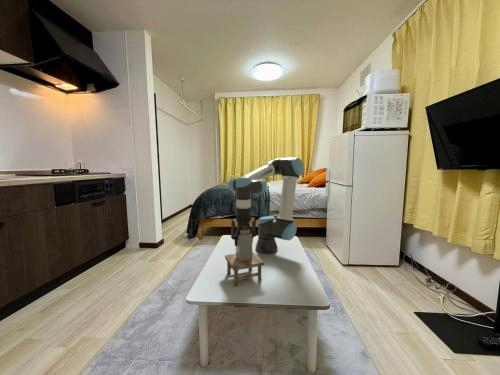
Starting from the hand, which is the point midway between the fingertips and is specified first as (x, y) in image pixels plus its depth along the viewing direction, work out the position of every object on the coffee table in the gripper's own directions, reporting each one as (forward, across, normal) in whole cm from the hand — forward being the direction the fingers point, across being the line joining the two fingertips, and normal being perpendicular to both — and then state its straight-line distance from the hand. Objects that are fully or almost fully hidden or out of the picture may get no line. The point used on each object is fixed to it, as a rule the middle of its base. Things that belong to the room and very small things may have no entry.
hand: (243, 250), depth 115 cm
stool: (+14, 0, 0) cm, 14 cm away
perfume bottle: (+4, 0, 0) cm, 4 cm away
